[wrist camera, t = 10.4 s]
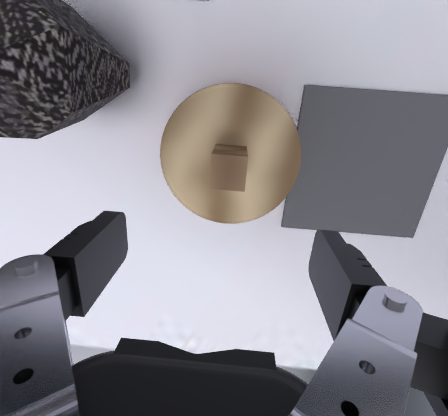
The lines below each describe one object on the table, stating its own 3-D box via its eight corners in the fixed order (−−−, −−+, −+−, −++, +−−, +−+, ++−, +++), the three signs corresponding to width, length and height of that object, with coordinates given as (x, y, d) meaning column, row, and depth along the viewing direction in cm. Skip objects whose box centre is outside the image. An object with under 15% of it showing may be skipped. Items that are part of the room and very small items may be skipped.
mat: (463, 96, 28) (466, 96, 27) (411, 236, 34) (412, 237, 33) (304, 84, 28) (305, 84, 27) (281, 225, 34) (281, 227, 34)
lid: (311, 89, 23) (331, 88, 19) (287, 225, 28) (297, 252, 24) (161, 78, 24) (141, 73, 19) (163, 214, 29) (148, 239, 24)
